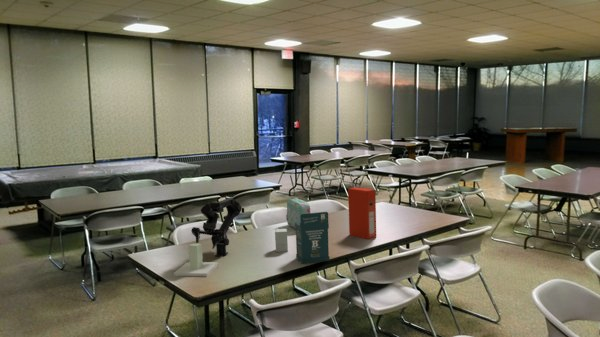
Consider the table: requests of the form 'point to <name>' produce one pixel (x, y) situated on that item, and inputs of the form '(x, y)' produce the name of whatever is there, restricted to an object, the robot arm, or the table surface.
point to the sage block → (195, 255)
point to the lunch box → (296, 210)
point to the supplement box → (281, 240)
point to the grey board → (203, 271)
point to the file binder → (362, 212)
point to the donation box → (312, 238)
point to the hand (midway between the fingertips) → (204, 247)
